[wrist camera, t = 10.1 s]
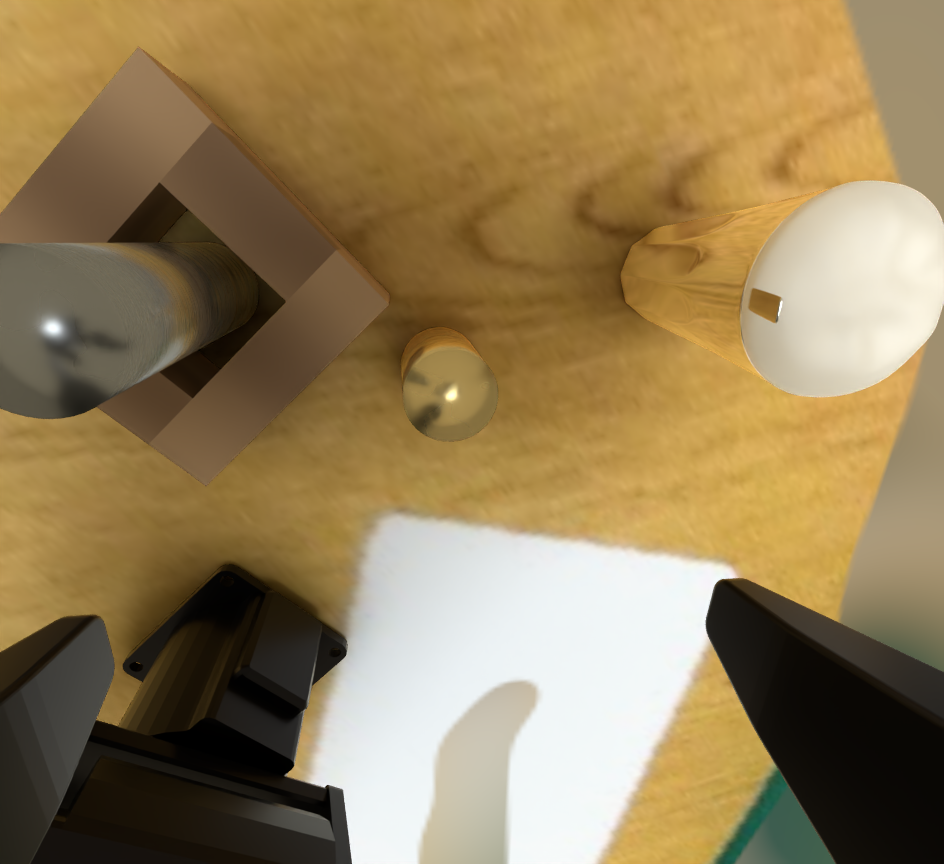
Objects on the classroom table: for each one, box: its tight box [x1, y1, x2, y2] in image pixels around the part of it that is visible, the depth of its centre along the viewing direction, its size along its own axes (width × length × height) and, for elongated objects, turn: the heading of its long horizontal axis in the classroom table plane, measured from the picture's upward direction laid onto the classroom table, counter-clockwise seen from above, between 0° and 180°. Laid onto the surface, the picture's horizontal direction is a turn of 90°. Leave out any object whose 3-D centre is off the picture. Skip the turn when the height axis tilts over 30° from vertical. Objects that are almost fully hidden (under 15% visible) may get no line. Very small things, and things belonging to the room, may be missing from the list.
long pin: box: [0, 242, 259, 419], centre depth 12 cm, size 3×3×9 cm
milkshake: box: [620, 181, 944, 397], centre depth 14 cm, size 5×5×10 cm
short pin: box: [401, 327, 498, 442], centre depth 17 cm, size 3×3×4 cm
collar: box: [0, 47, 390, 486], centre depth 15 cm, size 8×8×3 cm
